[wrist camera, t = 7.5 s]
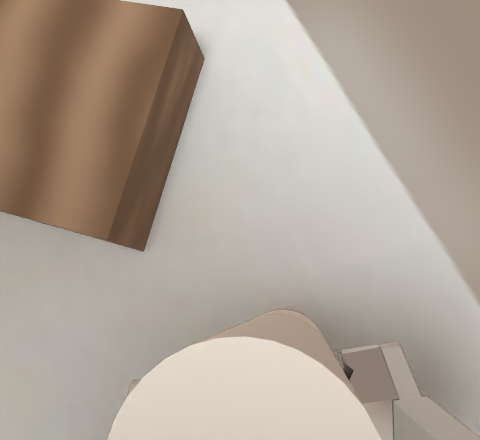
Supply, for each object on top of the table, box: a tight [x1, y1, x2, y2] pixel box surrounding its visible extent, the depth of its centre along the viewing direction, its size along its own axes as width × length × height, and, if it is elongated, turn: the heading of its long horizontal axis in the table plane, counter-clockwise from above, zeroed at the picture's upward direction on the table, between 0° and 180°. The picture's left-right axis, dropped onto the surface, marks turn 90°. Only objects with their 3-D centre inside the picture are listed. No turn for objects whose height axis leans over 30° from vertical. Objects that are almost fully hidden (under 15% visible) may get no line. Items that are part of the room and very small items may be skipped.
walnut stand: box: [0, 0, 204, 251], centre depth 27 cm, size 14×14×5 cm
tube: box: [107, 310, 382, 440], centre depth 13 cm, size 4×4×15 cm
